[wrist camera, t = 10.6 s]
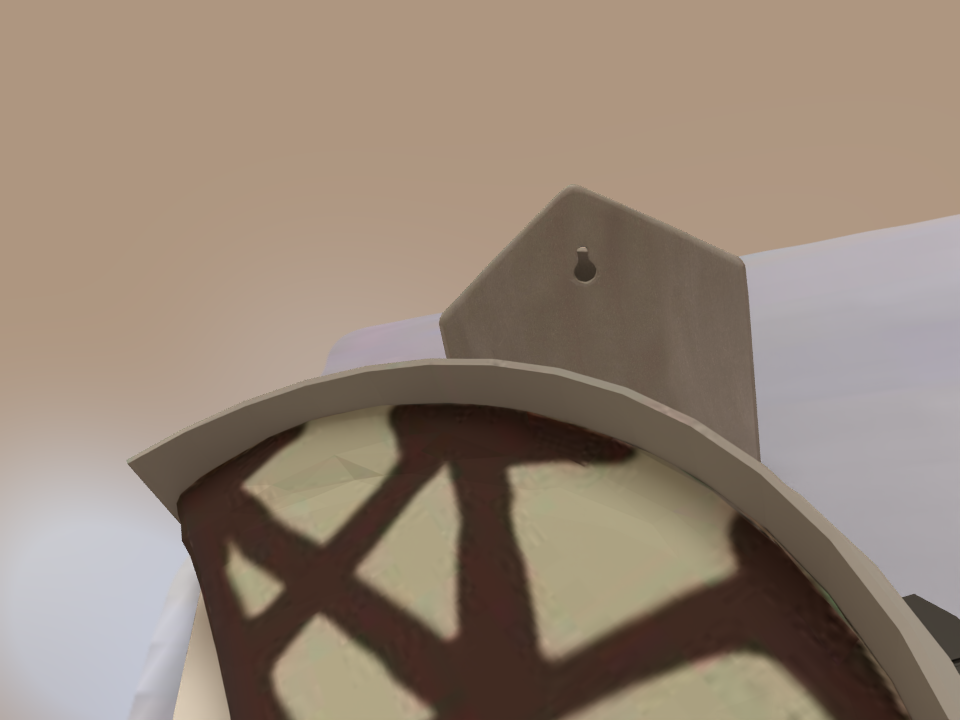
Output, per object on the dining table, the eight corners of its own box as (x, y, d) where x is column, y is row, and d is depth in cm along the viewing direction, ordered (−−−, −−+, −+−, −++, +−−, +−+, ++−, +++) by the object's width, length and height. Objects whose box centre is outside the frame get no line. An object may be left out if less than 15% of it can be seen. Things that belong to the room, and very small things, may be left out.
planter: (727, 413, 55) (700, 122, 46) (763, 482, 48) (739, 151, 39) (488, 455, 56) (421, 180, 48) (488, 527, 49) (410, 219, 41)
